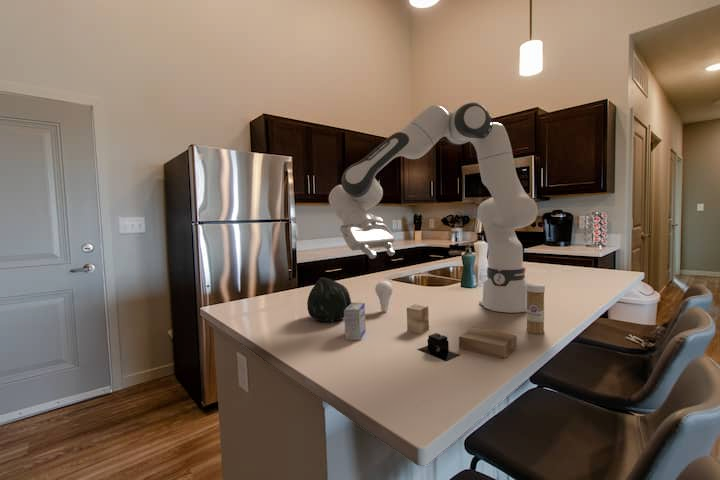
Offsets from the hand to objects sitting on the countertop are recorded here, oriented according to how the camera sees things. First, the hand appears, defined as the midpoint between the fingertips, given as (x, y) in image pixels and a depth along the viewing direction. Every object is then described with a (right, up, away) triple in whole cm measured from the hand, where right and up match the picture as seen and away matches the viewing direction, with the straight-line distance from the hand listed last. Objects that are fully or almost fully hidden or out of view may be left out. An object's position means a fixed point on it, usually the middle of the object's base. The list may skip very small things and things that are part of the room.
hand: (383, 255), depth 109 cm
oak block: (+10, -22, -8) cm, 25 cm away
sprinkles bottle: (+42, -21, -12) cm, 48 cm away
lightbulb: (+1, -20, +13) cm, 24 cm away
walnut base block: (+25, -22, -22) cm, 40 cm away
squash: (-17, -22, +7) cm, 29 cm away
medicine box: (-9, -23, -10) cm, 26 cm away
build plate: (+12, -23, -24) cm, 35 cm away
